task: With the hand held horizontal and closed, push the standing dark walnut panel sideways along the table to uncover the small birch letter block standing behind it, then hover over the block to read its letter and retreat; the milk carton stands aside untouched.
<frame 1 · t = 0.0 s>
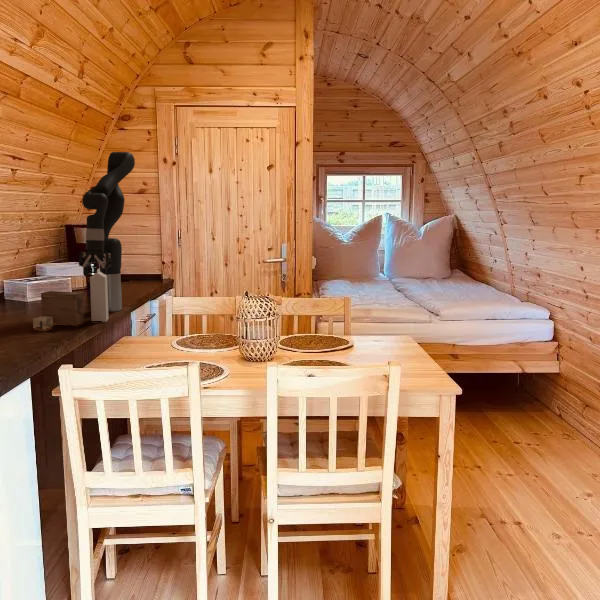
hand: (95, 276, 259), 17 cm above the worktop, tool pointing down, fingers open, 8 cm apart
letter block: (43, 330, 230), on the worktop
milk: (100, 321, 250), on the worktop
walnut panel: (63, 324, 241), on the worktop
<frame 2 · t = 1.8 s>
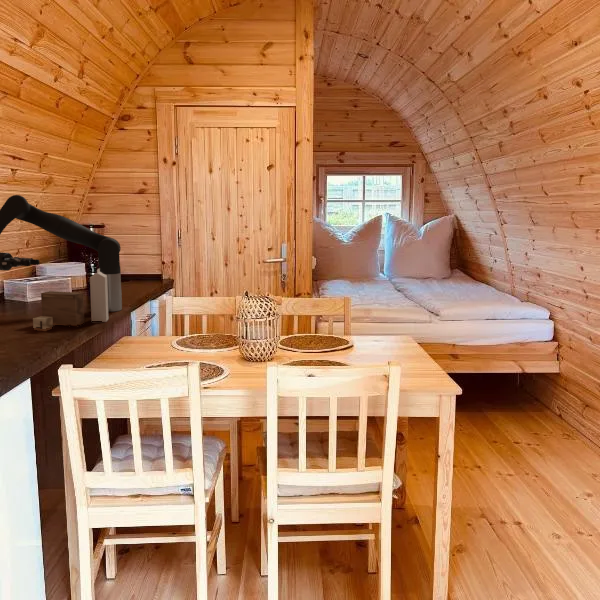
hand: (34, 262, 245), 24 cm above the worktop, tool horizontal, fingers open, 5 cm apart
nothing on the worktop moved.
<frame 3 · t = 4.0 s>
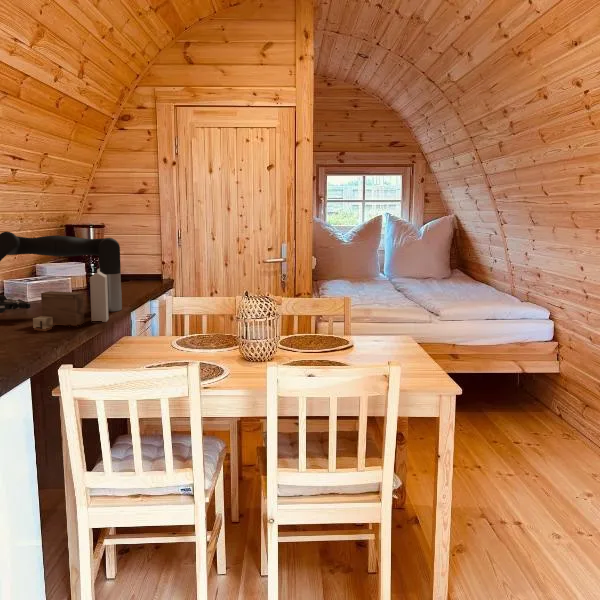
hand: (29, 305, 243), 7 cm above the worktop, tool horizontal, fingers closed
nothing on the worktop moved.
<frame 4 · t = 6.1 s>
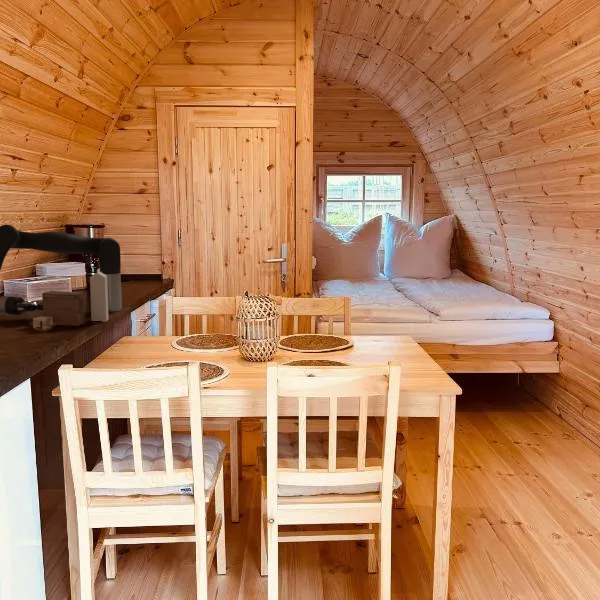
hand: (47, 307, 242), 7 cm above the worktop, tool horizontal, fingers closed
walnut panel: (64, 324, 241), on the worktop, touching gripper
everything else where it was.
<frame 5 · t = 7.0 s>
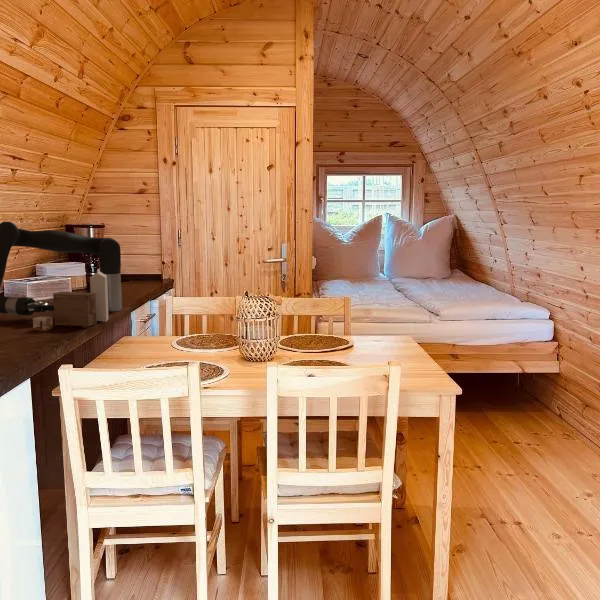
hand: (58, 308, 241), 6 cm above the worktop, tool horizontal, fingers closed
walnut panel: (75, 325, 240), on the worktop, touching gripper
everything else where it was.
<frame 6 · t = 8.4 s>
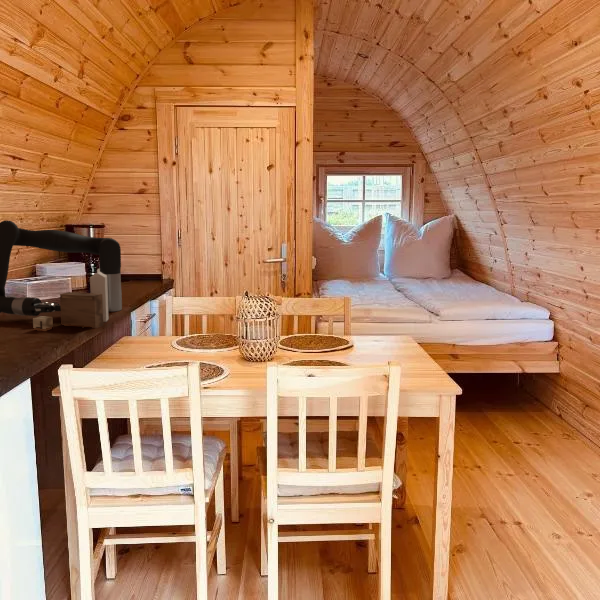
hand: (65, 308, 240), 7 cm above the worktop, tool horizontal, fingers closed
walnut panel: (82, 325, 240), on the worktop, touching gripper
everything else where it was.
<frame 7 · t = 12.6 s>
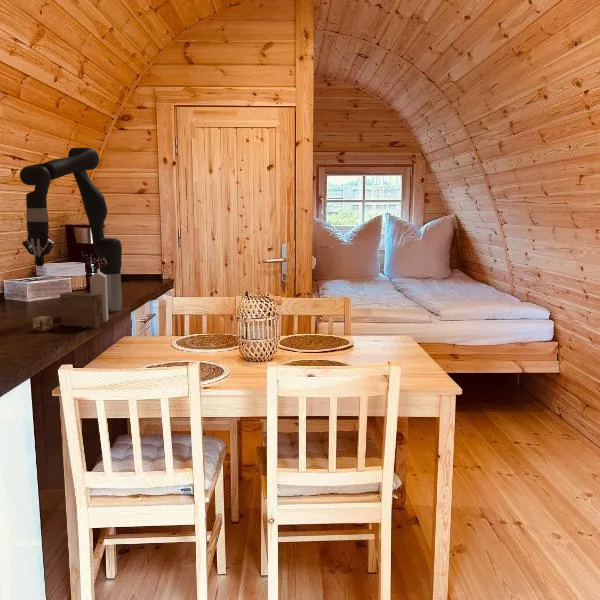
hand: (39, 266, 226), 25 cm above the worktop, tool pointing down, fingers closed
walnut panel: (82, 325, 240), on the worktop
everything else where it was.
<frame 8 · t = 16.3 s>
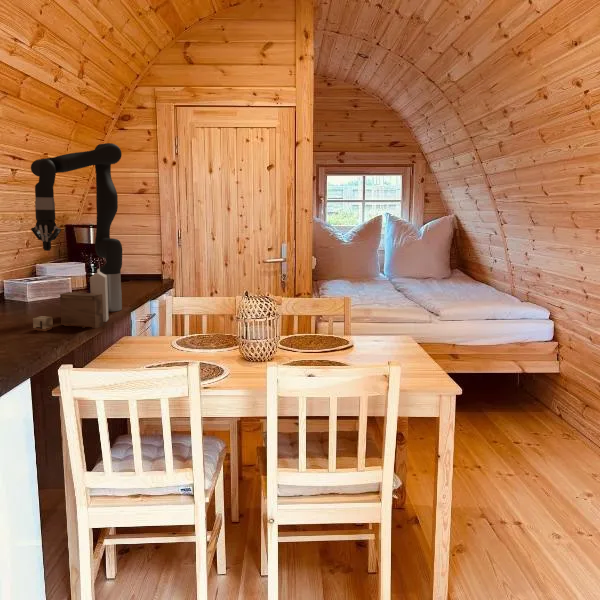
hand: (47, 250, 248), 29 cm above the worktop, tool pointing down, fingers closed
nothing on the worktop moved.
at the end: walnut panel moved 8.5 cm from its start; walnut panel tilted 0°; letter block moved 0.1 cm from its start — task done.
